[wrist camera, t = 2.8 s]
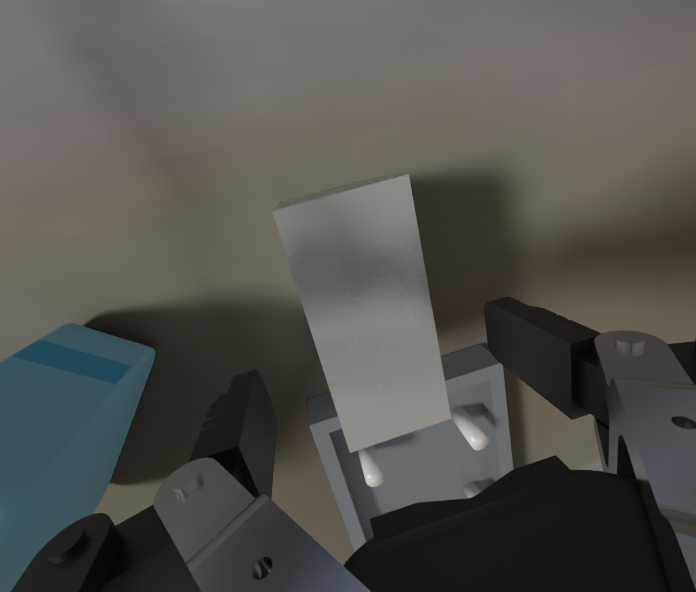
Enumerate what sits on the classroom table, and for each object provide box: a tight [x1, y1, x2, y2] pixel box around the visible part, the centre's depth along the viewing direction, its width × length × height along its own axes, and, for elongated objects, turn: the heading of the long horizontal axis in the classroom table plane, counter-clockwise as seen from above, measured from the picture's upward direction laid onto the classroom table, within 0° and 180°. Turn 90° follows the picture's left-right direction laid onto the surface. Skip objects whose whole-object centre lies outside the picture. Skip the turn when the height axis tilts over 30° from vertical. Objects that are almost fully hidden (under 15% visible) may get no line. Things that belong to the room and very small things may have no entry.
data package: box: [0, 323, 155, 592], centre depth 15 cm, size 12×4×12 cm, turn 154°
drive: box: [272, 174, 451, 453], centre depth 16 cm, size 10×4×9 cm, turn 14°
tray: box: [307, 344, 513, 551], centre depth 24 cm, size 16×13×4 cm
